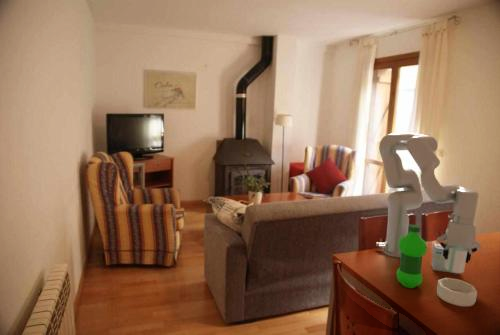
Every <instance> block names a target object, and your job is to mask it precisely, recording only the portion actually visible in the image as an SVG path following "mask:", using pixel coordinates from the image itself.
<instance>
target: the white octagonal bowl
mask: <svg viewBox="0 0 500 335" xmlns="http://www.w3.org/2000/svg"><path fill="white" fill-rule="evenodd" d="M436 286H437V287H436V295H437V297H438V298H440V299H441V300H442V301H444V302H446V303H448V304H451V305H454V306H458V307H464V308H465V307H473V306H474V305H475V304H476V301H477V297H478V291H477V289H476V288H475V286H474V285H473V284H471V283H468V282H466V281H464V280H462V279H458V278H451V277H444V278H441V279H439V278H438V280H437V284H436Z"/></svg>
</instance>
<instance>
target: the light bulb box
mask: <svg viewBox="0 0 500 335" xmlns="http://www.w3.org/2000/svg"><path fill="white" fill-rule="evenodd" d="M443 250H444V248H443V247H442V246H441V245H440V243H436V242H433V243H432V254H431V263H430V265H431V267H432V271H438V272H445V273H452V272H450V271H448V270H447V269H446V268H445V267H444V266H445V260H446V259H445V258H444V256H443ZM452 274H453V273H452ZM459 274H461V273H459ZM459 274H458V275H459Z"/></svg>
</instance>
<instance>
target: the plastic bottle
mask: <svg viewBox="0 0 500 335" xmlns="http://www.w3.org/2000/svg"><path fill="white" fill-rule="evenodd" d="M420 232H421V226H420V225H418V224H412V223H411V224H410V223H409V225H408V234H407V235H405V236H403V237H402V238H400V240H399V243H398V245H399V250H400V252H401V258H400V259H399V260H400V261H399V267H398V269H397V270H396V279H397V281H398V282H399V283H400V284H401V285H402V286H403V287H404V288H408V289H414V288H416V287H418V286H420V285H421V284H422V283H423V279H424V278H423V275H422V263H423V256H425V255H426V254H427V250H428V246H427V243H426V241H425V240H424V239H423V238H422V237H421V236H420V234H419V233H420Z"/></svg>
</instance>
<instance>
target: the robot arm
mask: <svg viewBox="0 0 500 335" xmlns="http://www.w3.org/2000/svg"><path fill="white" fill-rule="evenodd" d="M438 146H439V145H438V141H437V140H436V138H435V137H433V136H432V135H426V134H420V133H413V132H393V133H388V134H386V135H384V136H383V137H382V138H381V140H380V142H379V144H378V147H379V149H378V150H379V154H380V158H381V160H382V163H383V168H384V174H385V179H386V184H387V186H388V187H389V188H391V189H396V190H397V189H403V190H398V191H393V192H392V193H389V195H388V197H387V200H386V203H387V210H388V212H387V227H386V240H385V241H384V242H378V241H376V243H375V244H376V245H375V246H376V247H378V248H382V249H381V251H382V253H383V254H384V255H387V256H389V257H392V258H398V259H399V258H401V252H400V250H399V245H398V243H399V240H400V238H402V237H403V236H405V235H407V234H409V230H408V225H410V216H409V215H408V212H407V211H409V210H416V209H419V208H420V207H421V206H422V205H423V200H424V198H423V192H422V189H423V190H424V191H425V193H426V195H427V196H428V198H429V199H430V201H432V202H433V203H436V204H447V203H454V204H453V211H452V213H451V214H448V215H447V217H448V219H450V220H449V221H448V223H447V226H446V227H447V228H446V230H445V233H444V234H442V235H441V236H438V237H437V238H436V241H437V242H438V244H440V245H441V246H442V247H443V248H444V250H443V256H444V258H445V259H447V258H448V252H449V251H448V248H449V247H450V246H454V247H458V246H460V247H462V248H466V249H468V252H467V257H466V263H465V264H469V262H470V261H471V257H472V255H473V253H475V252H477V251H478V250H479V249H481V248H482V247H483V246H482V245H481V243H480V242H479V241H478V240H477V239H476V235H477V234H476V233H477V226H476V224H475V223H474V222H475V218H476V216H475V215H476V211H477V206H478V202H479V201H478V199H479V193H478V191H476V190H474V189H470V188H466V187H463V186H460V185H458V184H456V183H455V184H453V183H450V184H441V183H440V182H439V181H438V179H437V178H436V175H435V170H436V169H437V168H438V167H439V165H440V164H441V160H440V158H439V157H438V156H437V155H436V153H435V152H436V151H437V150H438ZM397 151H407V152H408V153H409V154H410V156H411V157H412V158H413V160H414V162H415V163H416V164H417V167H418V168H419V170H420V179H419V175H418V174H417V172H416V171H415V170H414V169H411V168H404V166H403V162H402V158H401V157H400V155H399V154H398V153H397ZM421 186H422V188H421ZM443 240H444V241H445V243H444V242H443Z"/></svg>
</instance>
